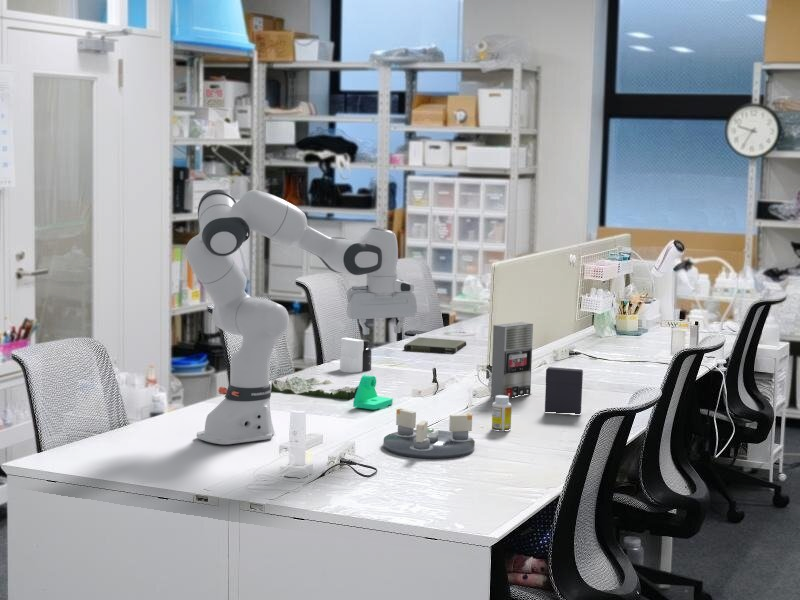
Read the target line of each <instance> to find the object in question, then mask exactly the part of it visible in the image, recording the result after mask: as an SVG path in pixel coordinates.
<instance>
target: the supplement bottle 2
mask: <svg viewBox="0 0 800 600" xmlns="http://www.w3.org/2000/svg"><path fill="white" fill-rule="evenodd" d="M491 411H492V412H491V413H492V416H491V430H492V429H494V430H499V431H505V430H509V429H511V428H512V403H510V399H509V396H505V395H497V396H495V398H494V401H493V403H492V409H491Z"/></svg>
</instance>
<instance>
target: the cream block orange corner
mask: <svg viewBox="0 0 800 600" xmlns="http://www.w3.org/2000/svg"><path fill="white" fill-rule="evenodd" d="M395 414H396V415H395V416H396V420H395V422H396V423H395V425H396V426H397V432H398V434H400V435H412V434H413V433H414V430H415V428H416V425H417V424H416V422H417V421H416V419H417V416H416V415H417V412H416V411H412V410H408V409H404V408H396V413H395Z"/></svg>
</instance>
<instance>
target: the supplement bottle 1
mask: <svg viewBox="0 0 800 600" xmlns="http://www.w3.org/2000/svg"><path fill="white" fill-rule="evenodd" d="M363 340H364V350H363V367H362V372H363V373H364V372H370V371H372V348H370V347H369V346H370V340H368V339H363Z"/></svg>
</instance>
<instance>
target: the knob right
mask: <svg viewBox="0 0 800 600" xmlns="http://www.w3.org/2000/svg"><path fill="white" fill-rule="evenodd" d="M448 423H449V424H448V425H449V428H448V429H449V430H448V431H449V432H452V438H453V439H457V440H465V439H468V436H469V432H472V430H473V415H472V414H471V413H468V414H466V413H465V414H449V422H448Z"/></svg>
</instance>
